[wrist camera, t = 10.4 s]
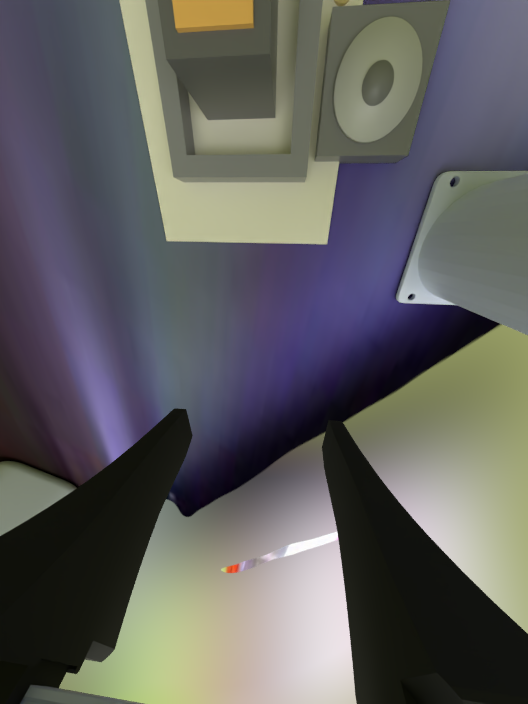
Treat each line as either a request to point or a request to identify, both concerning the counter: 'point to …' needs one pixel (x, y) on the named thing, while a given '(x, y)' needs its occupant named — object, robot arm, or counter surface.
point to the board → (239, 139)
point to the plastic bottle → (26, 493)
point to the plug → (224, 54)
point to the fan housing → (376, 79)
